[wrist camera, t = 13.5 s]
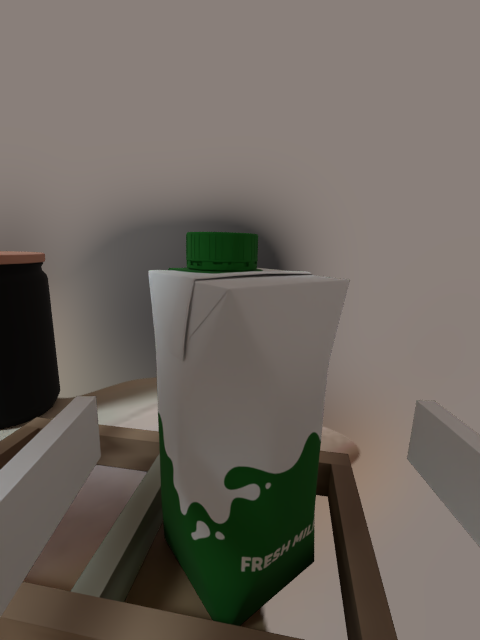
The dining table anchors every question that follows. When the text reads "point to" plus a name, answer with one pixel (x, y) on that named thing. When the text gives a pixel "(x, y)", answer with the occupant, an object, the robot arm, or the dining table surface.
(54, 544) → the dining table surface
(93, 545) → the dining table surface
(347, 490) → the walnut slot rack
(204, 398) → the fresh milk carton
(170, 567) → the dining table surface
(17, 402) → the coffee jar
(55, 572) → the dining table surface
